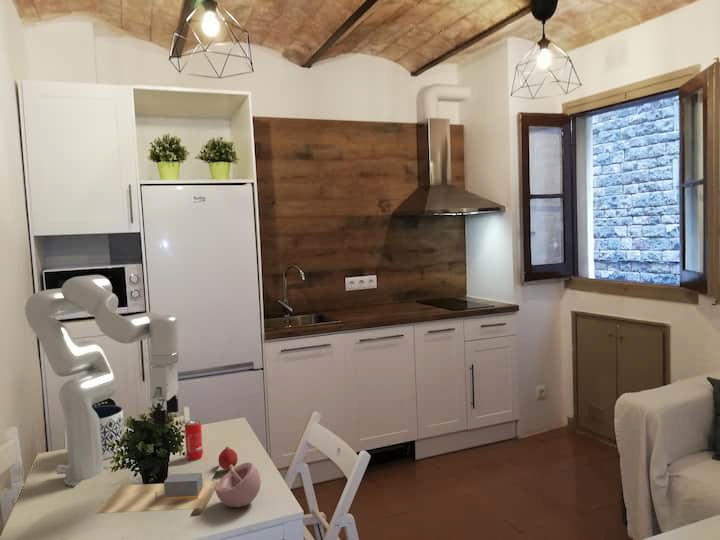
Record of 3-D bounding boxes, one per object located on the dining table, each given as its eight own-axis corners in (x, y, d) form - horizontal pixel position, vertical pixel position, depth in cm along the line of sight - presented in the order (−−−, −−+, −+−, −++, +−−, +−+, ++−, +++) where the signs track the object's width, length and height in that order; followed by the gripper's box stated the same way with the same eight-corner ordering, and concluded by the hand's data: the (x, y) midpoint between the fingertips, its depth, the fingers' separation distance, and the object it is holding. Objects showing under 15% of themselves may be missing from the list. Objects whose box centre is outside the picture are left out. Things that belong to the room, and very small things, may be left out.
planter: (64, 460, 186) (60, 419, 185) (99, 442, 201) (96, 404, 200) (102, 464, 181) (99, 421, 180) (135, 445, 196) (132, 406, 195)
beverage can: (190, 462, 179) (187, 426, 178) (184, 457, 183) (182, 422, 183) (205, 457, 182) (203, 422, 182) (199, 453, 186) (197, 418, 186)
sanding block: (165, 500, 150) (163, 482, 150) (171, 491, 155) (170, 474, 155) (197, 498, 150) (196, 480, 150) (203, 490, 155) (201, 472, 155)
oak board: (95, 518, 145) (95, 513, 145) (121, 490, 161) (121, 485, 161) (202, 513, 145) (201, 508, 145) (217, 485, 161) (217, 480, 161)
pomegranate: (216, 470, 172) (214, 445, 171) (233, 465, 175) (231, 441, 174) (223, 476, 167) (222, 451, 166) (241, 471, 170) (239, 446, 170)
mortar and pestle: (214, 499, 153) (211, 459, 152) (257, 490, 157) (255, 451, 156) (219, 520, 141) (216, 476, 141) (265, 509, 145) (263, 467, 145)
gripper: (162, 352, 165) (164, 407, 166) (138, 366, 147) (141, 429, 149) (187, 351, 164) (189, 407, 166) (166, 366, 147) (168, 429, 149)
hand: (166, 417), depth 157 cm, fingers open, 9 cm apart
